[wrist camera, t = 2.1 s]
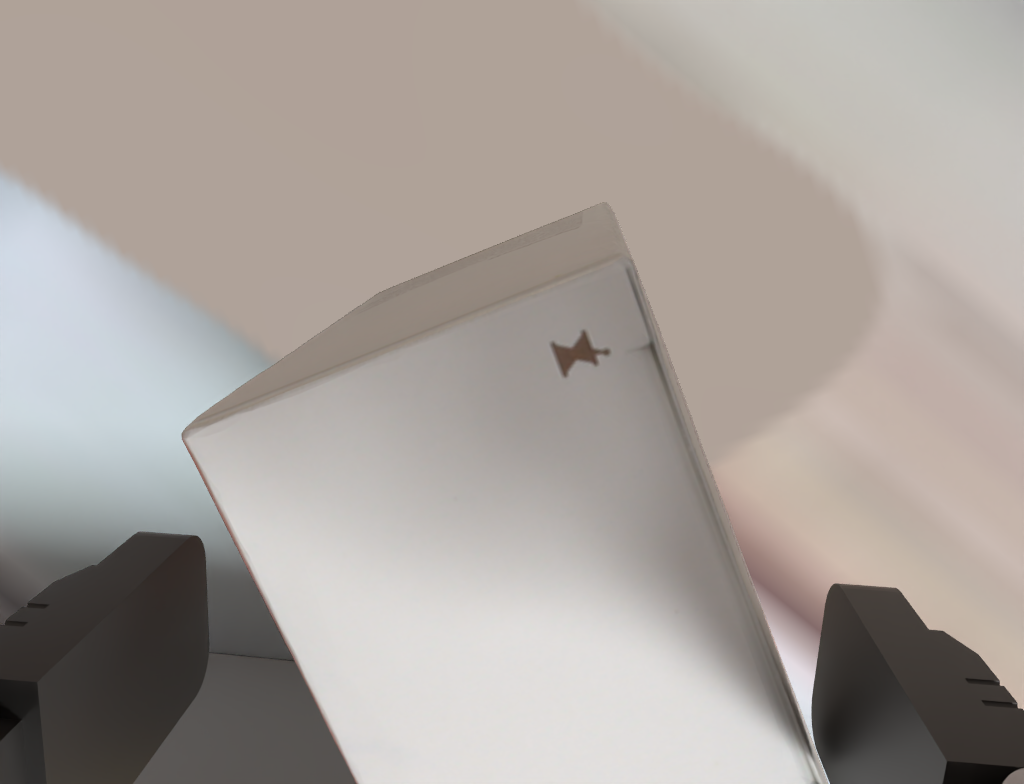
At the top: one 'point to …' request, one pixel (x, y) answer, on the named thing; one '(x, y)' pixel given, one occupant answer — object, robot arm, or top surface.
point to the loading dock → (249, 730)
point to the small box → (505, 534)
